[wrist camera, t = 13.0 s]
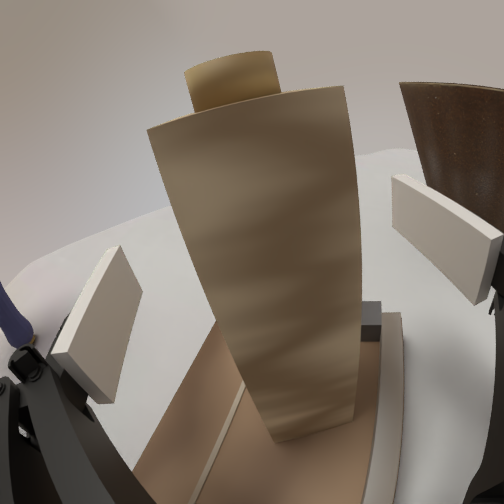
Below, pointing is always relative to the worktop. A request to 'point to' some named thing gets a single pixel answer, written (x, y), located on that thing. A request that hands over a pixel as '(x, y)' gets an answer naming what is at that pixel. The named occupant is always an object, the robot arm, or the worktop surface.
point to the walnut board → (286, 452)
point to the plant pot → (460, 143)
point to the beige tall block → (272, 234)
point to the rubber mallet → (14, 322)
